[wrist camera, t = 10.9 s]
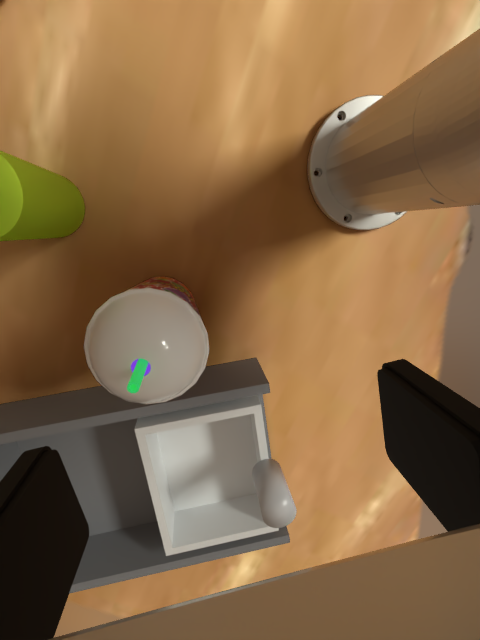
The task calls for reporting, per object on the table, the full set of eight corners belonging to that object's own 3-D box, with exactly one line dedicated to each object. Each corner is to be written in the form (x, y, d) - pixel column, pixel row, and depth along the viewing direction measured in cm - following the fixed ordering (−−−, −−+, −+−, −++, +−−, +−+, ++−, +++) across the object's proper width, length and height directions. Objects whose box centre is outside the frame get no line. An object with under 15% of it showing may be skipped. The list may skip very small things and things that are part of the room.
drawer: (261, 378, 40) (286, 434, 29) (276, 489, 44) (304, 576, 33) (142, 400, 38) (123, 467, 28) (169, 513, 42) (161, 610, 31)
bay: (256, 357, 40) (268, 383, 34) (275, 495, 45) (289, 542, 39) (-1, 404, 38) (-43, 442, 31) (49, 545, 43) (22, 604, 36)
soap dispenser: (70, 257, 35) (-79, 290, 16) (6, 208, 33) (-246, 179, 14) (106, 211, 35) (-1, 187, 15) (44, 159, 33) (-167, 58, 14)
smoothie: (219, 309, 38) (246, 389, 19) (162, 359, 39) (133, 485, 20) (164, 250, 36) (133, 273, 17) (105, 304, 37) (9, 386, 18)
